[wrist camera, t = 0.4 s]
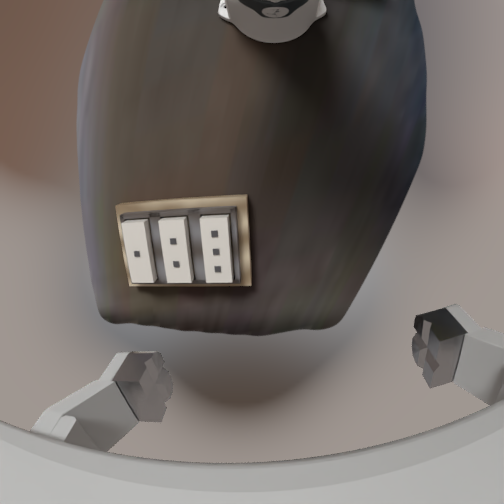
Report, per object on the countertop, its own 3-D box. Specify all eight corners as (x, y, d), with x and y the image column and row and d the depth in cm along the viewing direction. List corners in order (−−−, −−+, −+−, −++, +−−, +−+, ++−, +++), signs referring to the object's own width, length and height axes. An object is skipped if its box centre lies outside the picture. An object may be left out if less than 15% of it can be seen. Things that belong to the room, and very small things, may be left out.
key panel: (121, 203, 54) (110, 208, 49) (247, 194, 52) (245, 198, 48) (134, 280, 59) (125, 290, 55) (252, 280, 57) (250, 290, 53)
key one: (126, 220, 50) (120, 223, 48) (148, 219, 50) (143, 222, 48) (136, 278, 54) (131, 283, 52) (157, 278, 54) (153, 283, 52)
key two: (162, 218, 50) (157, 221, 48) (187, 216, 49) (183, 219, 47) (170, 278, 53) (167, 283, 51) (194, 278, 53) (191, 283, 51)
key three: (202, 215, 49) (199, 219, 47) (229, 214, 49) (227, 217, 47) (208, 277, 53) (206, 283, 51) (233, 277, 53) (232, 283, 51)
